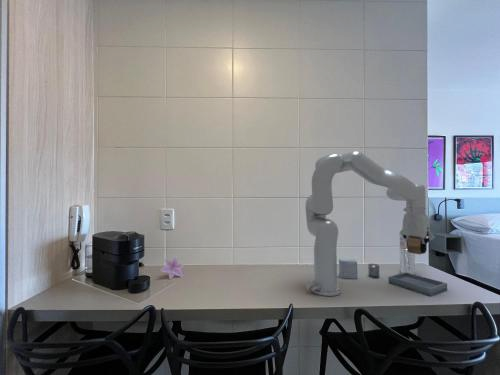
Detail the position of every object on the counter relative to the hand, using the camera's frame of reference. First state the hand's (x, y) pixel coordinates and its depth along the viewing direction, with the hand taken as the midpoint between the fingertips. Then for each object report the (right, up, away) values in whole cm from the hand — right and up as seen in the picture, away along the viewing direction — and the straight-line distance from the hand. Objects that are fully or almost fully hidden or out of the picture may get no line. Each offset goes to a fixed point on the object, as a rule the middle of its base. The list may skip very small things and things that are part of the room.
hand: (416, 250), depth 116 cm
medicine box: (-27, -17, +12) cm, 34 cm away
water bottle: (+7, -17, +19) cm, 26 cm away
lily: (-116, -17, +14) cm, 118 cm away
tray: (0, -16, 0) cm, 16 cm away
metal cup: (-13, -17, +13) cm, 25 cm away
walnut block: (0, -1, 0) cm, 1 cm away
